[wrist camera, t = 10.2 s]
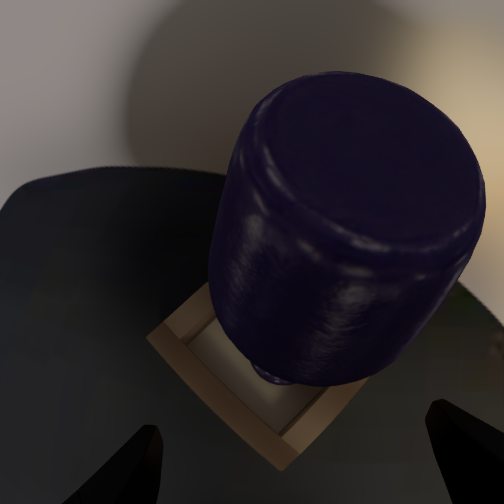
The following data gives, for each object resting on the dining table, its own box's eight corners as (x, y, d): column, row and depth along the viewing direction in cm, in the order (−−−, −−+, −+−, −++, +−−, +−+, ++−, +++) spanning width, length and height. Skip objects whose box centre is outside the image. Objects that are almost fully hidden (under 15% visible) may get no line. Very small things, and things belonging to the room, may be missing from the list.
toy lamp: (273, 406, 17) (419, 493, 1) (222, 347, 18) (91, 121, 3) (333, 352, 18) (564, 182, 3) (282, 298, 19) (351, 18, 4)
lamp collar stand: (277, 463, 16) (281, 474, 13) (158, 346, 19) (143, 337, 16) (385, 341, 19) (404, 331, 16) (271, 243, 22) (273, 220, 20)
